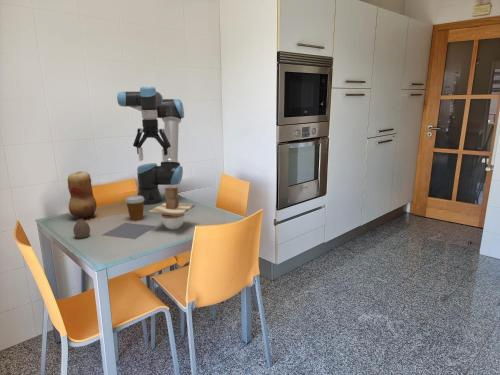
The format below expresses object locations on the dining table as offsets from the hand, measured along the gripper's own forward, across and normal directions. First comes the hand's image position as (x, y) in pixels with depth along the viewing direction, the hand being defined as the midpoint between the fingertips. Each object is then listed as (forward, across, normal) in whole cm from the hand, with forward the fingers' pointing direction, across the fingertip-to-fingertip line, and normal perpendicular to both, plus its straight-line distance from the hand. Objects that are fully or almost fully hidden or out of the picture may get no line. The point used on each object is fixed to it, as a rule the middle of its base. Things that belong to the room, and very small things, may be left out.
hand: (152, 161), depth 184 cm
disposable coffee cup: (+31, -9, -5) cm, 33 cm away
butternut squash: (+31, -38, -10) cm, 50 cm away
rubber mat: (+31, -2, -21) cm, 37 cm away
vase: (+31, -18, -34) cm, 49 cm away
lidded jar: (+31, +16, -11) cm, 36 cm away
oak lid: (+21, +16, -11) cm, 29 cm away
